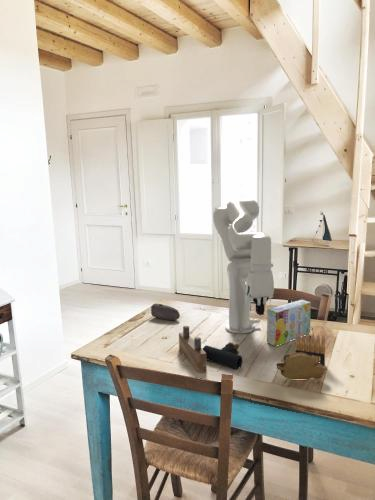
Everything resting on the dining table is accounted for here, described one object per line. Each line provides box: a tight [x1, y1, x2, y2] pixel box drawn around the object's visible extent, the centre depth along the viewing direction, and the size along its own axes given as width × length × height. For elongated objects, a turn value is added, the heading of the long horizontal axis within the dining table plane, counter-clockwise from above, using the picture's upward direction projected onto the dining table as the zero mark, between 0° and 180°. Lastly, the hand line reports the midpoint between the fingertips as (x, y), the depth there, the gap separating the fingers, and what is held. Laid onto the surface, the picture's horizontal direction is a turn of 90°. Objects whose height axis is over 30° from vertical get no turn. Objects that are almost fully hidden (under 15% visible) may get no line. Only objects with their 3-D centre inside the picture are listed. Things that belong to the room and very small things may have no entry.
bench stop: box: [178, 325, 207, 374], centre depth 153 cm, size 3×21×11 cm, turn 20°
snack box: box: [266, 299, 312, 347], centre depth 170 cm, size 21×6×15 cm, turn 124°
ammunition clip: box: [294, 332, 326, 366], centre depth 148 cm, size 11×2×12 cm, turn 69°
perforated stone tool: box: [150, 303, 181, 321], centre depth 197 cm, size 15×5×7 cm, turn 63°
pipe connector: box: [202, 341, 243, 370], centre depth 154 cm, size 12×5×15 cm
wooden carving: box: [275, 352, 327, 380], centre depth 138 cm, size 16×5×10 cm, turn 91°
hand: (260, 313), depth 157 cm, fingers closed
